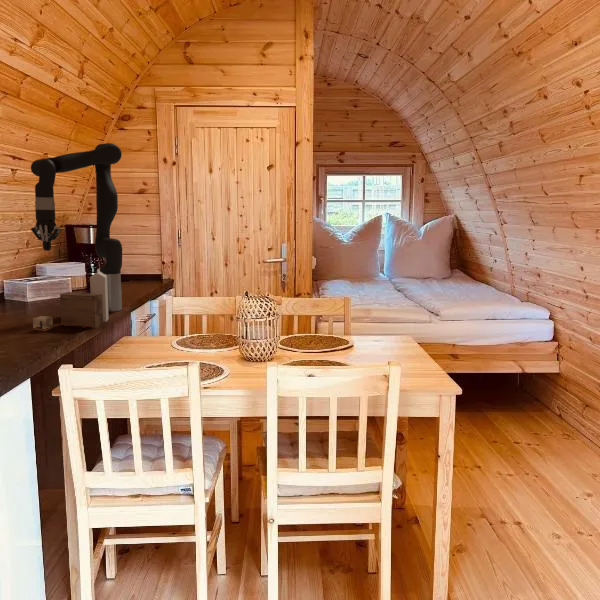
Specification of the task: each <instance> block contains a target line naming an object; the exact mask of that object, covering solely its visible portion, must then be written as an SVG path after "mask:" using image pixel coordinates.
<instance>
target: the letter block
mask: <svg viewBox="0 0 600 600" xmlns="http://www.w3.org/2000/svg"><path fill="white" fill-rule="evenodd" d="M53 323H54V322H53V316H45V315H44V316H42V315H40V316H37V317H33V318H32V326H33V327H32V329H33V328H40V329H46V328H50V327H53V328H54V325H53Z"/></svg>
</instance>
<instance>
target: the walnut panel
mask: <svg viewBox="0 0 600 600" xmlns="http://www.w3.org/2000/svg"><path fill="white" fill-rule="evenodd" d="M59 301H60V304H59V305H60V321H61V324H71V325H84V326H91V327H92V328H91V329H97V328H100V327H103V326H104V322H103V299H102V294H95V293H91V292H74V291H73V292H71V291H69V292H64V293H60V294H59ZM61 324H60V325H61Z"/></svg>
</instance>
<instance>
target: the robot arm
mask: <svg viewBox="0 0 600 600" xmlns="http://www.w3.org/2000/svg"><path fill="white" fill-rule="evenodd" d="M122 155H123V154H122V150H121V148H120V146H118V145H117V144H115V143H111V142H109V143H107V142H106V143H100V144H96V146H95V148H94V149H91V150H87V151H79V152H71V153H65V154H60V155H57V156H55V157H45V158H39V159H36V160H34V161H32V163H31V164H30V170H31V173H32V174H33V175H35V176H36V177H38V182H37V183H36V184H35V186H34V193H35V195H34V197H35V198H34V200H35V201H34V208H35V209H34V210H35V211H34V212H35V219H36V223H35V225H34V227H31V229H30V231H32V233H33V234H34V236H35V237H36V238H37V240H38V241H42V249H43V251H45V252H46V251H47V252H49V251H51V249H52V242H53V241H55V240H56V239H57V237H58V236H59V234H60V233H61V231H62V229H61V228H60V227H58V226H57V224H56V202H55V194H54V193H55V192H54V185H55V181H56V174H59V173H68V172H73V171H77V170H81V169H84V168H87V167H91V166H94V168H95V185H96V187H95V189H96V190H95V191H96V192H95V193H96V196H95V197H96V200H95V201H96V202H95V203H96V204H95V205H96V206H95V207H96V225H95V226H96V228H95V229H96V230H95V239H94V240H95V241H94V250H95V251H94V252H95V253H96V256H97V257H99V258H100V259H101V258H102V259H105V264H103V265H101V266H100V267H99V268H100V272H101V273H103V274H105V275H107V286H108V312H120V311H122V309H123V299H122V296H123V295H122V292H123V291H122V281H121V280H122V279H121V278H122V277H121V275H122V274H121V273H122V272H121V270H122V267H123V245H122V242H121V240H120V239H118V238H114V237H113V238H111V235H110V233H111V231H110V230H111V226H112V223H113V221H114V219H115V217H116V215H117V212H118V208H119V207H118V206H119V205H118V203H119V202H118V192H117V189H116V187H115V184H114V182H113V179H112V174H111V173H112V171H111V170H112V167H111V166H112V165H115V164H117V163H118V162H120V160H121V158H122Z"/></svg>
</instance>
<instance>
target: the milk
mask: <svg viewBox="0 0 600 600" xmlns="http://www.w3.org/2000/svg"><path fill="white" fill-rule="evenodd" d="M89 285H90V286H89V287H90V290H89V291H90V292H89V293H95V294H102V299H103V323H107V322H108V321H109V311H108V286H107V275H105V274H103V273H101V272H100V267H99V268H97V270H96V273H95V274H93V275H91V276H90V277H89Z"/></svg>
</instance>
